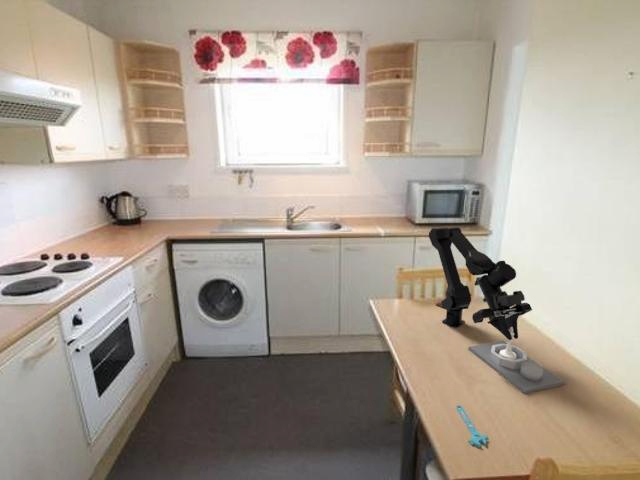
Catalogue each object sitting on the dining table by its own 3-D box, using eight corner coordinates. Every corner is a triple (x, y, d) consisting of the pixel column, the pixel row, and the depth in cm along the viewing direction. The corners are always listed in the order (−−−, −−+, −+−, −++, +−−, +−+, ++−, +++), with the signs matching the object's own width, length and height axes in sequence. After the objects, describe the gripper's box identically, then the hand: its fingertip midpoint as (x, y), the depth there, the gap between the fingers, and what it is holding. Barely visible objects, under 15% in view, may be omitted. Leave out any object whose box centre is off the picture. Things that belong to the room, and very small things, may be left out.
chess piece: (502, 359, 115) (506, 330, 112) (497, 350, 119) (500, 322, 117) (518, 360, 114) (523, 331, 111) (513, 352, 119) (517, 323, 116)
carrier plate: (468, 349, 125) (469, 338, 124) (502, 343, 128) (503, 332, 127) (524, 393, 102) (526, 381, 101) (563, 384, 106) (566, 372, 105)
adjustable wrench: (493, 444, 84) (472, 445, 84) (493, 448, 85) (471, 449, 84) (467, 403, 98) (448, 404, 98) (466, 406, 98) (448, 407, 98)
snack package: (451, 295, 165) (461, 299, 161) (451, 299, 166) (460, 303, 162) (434, 302, 159) (444, 306, 155) (434, 306, 159) (444, 310, 156)
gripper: (482, 285, 112) (504, 336, 105) (531, 279, 117) (556, 326, 109) (463, 299, 121) (482, 346, 114) (510, 292, 126) (531, 337, 119)
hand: (513, 339), depth 114 cm, fingers closed on chess piece
